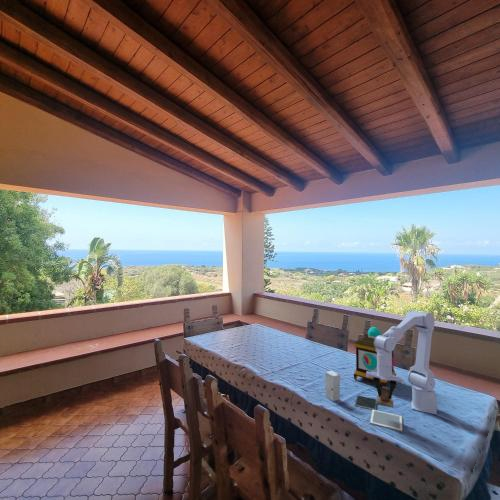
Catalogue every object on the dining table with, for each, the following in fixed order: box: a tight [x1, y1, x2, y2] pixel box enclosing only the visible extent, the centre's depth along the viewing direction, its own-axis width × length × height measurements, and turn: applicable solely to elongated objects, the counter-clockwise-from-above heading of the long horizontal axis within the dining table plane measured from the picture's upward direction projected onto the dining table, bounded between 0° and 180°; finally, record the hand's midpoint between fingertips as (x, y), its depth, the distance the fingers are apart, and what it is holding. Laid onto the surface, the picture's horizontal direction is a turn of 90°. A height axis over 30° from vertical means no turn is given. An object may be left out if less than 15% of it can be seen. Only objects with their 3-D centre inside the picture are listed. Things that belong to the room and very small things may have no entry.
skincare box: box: [324, 370, 341, 402], centre depth 138 cm, size 6×4×12 cm
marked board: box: [369, 409, 404, 433], centre depth 118 cm, size 12×12×1 cm
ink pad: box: [354, 395, 378, 411], centre depth 132 cm, size 9×9×1 cm
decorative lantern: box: [353, 326, 397, 387], centre depth 159 cm, size 20×20×30 cm
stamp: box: [376, 386, 394, 409], centre depth 119 cm, size 6×6×6 cm
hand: (384, 397), depth 119 cm, fingers closed on stamp, 4 cm apart
